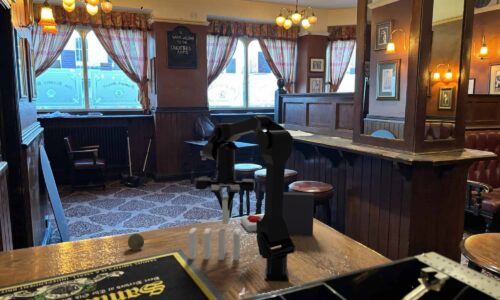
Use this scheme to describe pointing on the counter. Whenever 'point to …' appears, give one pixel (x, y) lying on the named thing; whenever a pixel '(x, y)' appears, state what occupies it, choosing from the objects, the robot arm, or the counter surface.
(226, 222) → the domino
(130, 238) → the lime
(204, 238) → the domino
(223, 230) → the domino
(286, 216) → the dark grey upright block
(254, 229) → the red button box
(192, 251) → the domino
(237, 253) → the domino
